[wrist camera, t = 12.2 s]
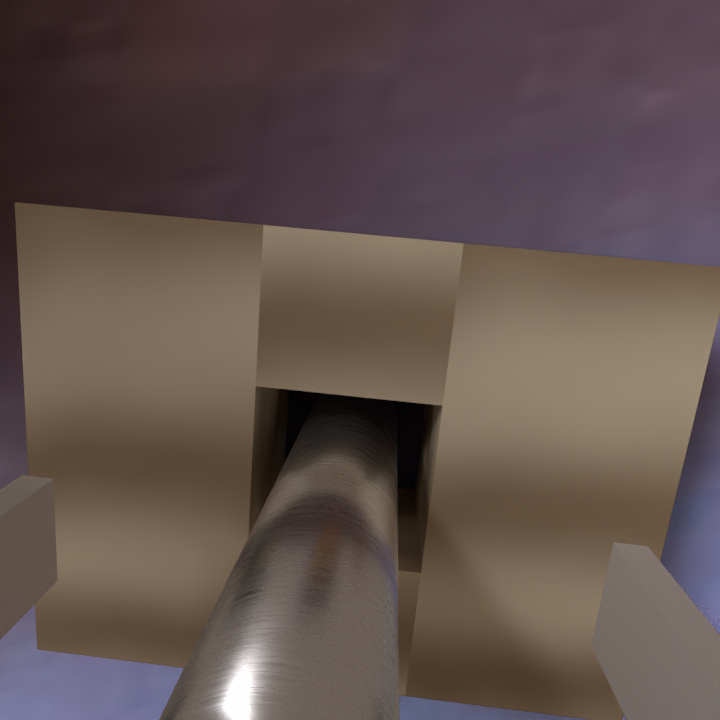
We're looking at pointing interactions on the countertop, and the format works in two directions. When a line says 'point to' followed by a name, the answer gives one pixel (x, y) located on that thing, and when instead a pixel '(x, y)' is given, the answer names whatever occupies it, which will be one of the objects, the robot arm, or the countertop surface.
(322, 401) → the long steel pin
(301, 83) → the countertop surface
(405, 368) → the hole block
